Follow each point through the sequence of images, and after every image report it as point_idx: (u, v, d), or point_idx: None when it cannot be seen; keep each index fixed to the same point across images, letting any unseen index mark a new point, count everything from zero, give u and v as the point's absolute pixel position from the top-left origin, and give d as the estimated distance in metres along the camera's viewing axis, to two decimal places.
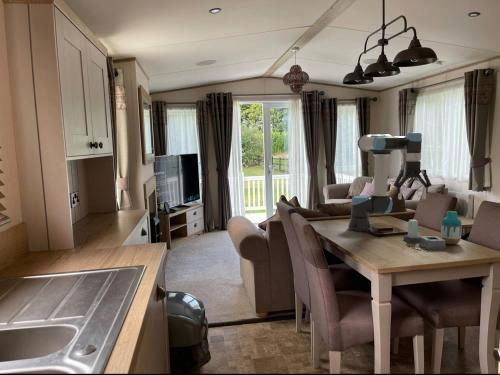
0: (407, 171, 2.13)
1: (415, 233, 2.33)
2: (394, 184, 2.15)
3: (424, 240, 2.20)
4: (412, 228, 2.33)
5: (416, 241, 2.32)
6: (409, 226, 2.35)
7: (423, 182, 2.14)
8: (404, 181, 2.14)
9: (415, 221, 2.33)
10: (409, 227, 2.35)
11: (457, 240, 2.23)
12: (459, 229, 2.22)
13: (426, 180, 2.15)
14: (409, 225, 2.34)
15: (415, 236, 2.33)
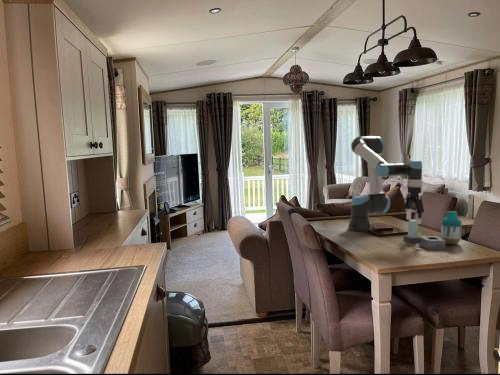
0: (410, 195, 2.36)
1: (415, 233, 2.33)
2: None
3: (424, 240, 2.20)
4: (412, 228, 2.33)
5: (416, 241, 2.32)
6: (409, 226, 2.35)
7: (416, 207, 2.27)
8: (408, 203, 2.38)
9: (415, 221, 2.33)
10: (409, 227, 2.35)
11: (457, 240, 2.23)
12: (459, 229, 2.22)
13: None
14: (409, 225, 2.34)
15: (415, 236, 2.33)
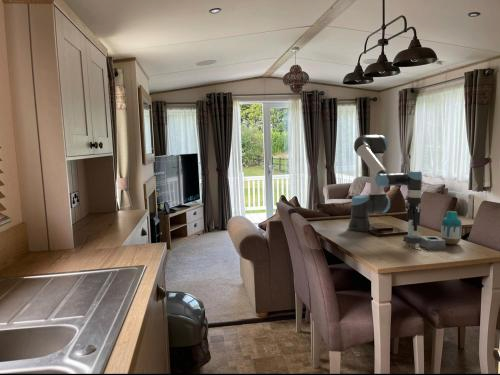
0: (409, 205, 2.37)
1: None
2: None
3: (424, 240, 2.20)
4: None
5: (416, 241, 2.32)
6: (409, 226, 2.35)
7: (413, 219, 2.32)
8: (409, 216, 2.36)
9: None
10: (409, 227, 2.35)
11: (457, 240, 2.23)
12: (459, 229, 2.22)
13: None
14: (409, 225, 2.34)
15: (415, 236, 2.33)
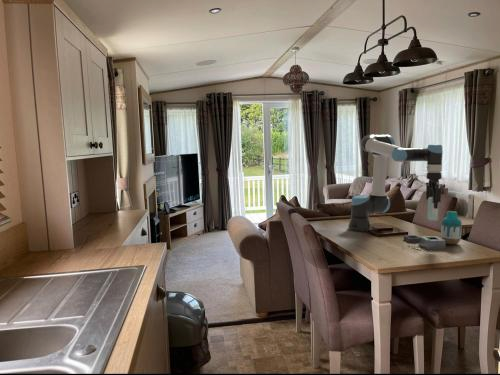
0: (428, 182, 2.22)
1: None
2: None
3: (424, 240, 2.20)
4: None
5: (416, 241, 2.32)
6: (429, 204, 2.20)
7: (433, 196, 2.17)
8: (429, 193, 2.21)
9: None
10: (429, 205, 2.20)
11: (457, 240, 2.23)
12: (459, 229, 2.22)
13: None
14: (429, 202, 2.19)
15: (435, 214, 2.18)
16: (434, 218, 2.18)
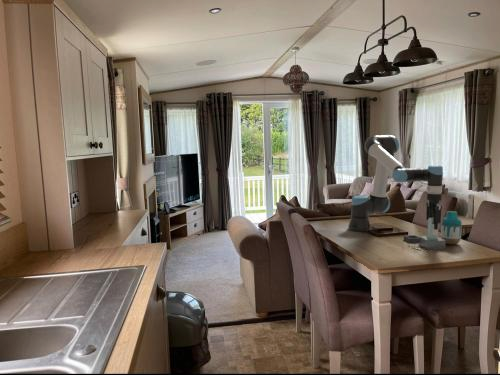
0: (429, 202, 2.22)
1: None
2: (428, 218, 2.26)
3: (424, 240, 2.20)
4: None
5: (416, 241, 2.32)
6: (429, 224, 2.21)
7: (433, 217, 2.17)
8: (429, 214, 2.22)
9: None
10: (429, 225, 2.21)
11: (457, 240, 2.23)
12: (459, 229, 2.22)
13: None
14: (429, 223, 2.20)
15: (435, 235, 2.19)
16: (434, 239, 2.19)
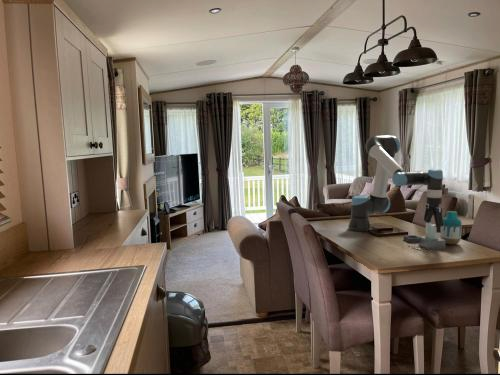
0: (428, 206, 2.23)
1: (435, 239, 2.19)
2: None
3: (424, 240, 2.20)
4: (432, 234, 2.19)
5: (416, 241, 2.32)
6: (428, 231, 2.21)
7: (435, 220, 2.16)
8: (427, 216, 2.24)
9: None
10: (428, 232, 2.21)
11: (457, 240, 2.23)
12: (459, 229, 2.22)
13: None
14: (429, 230, 2.20)
15: None
16: None
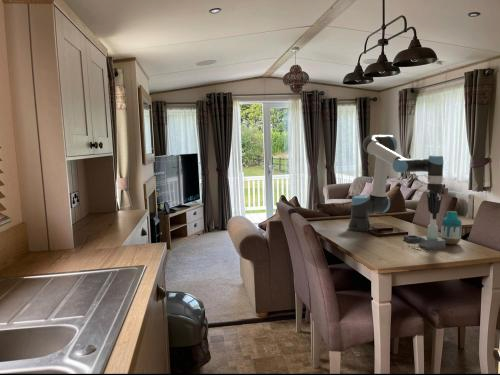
0: None
1: (435, 239, 2.19)
2: None
3: (424, 240, 2.20)
4: (432, 234, 2.19)
5: (416, 241, 2.32)
6: (428, 231, 2.21)
7: (432, 207, 2.18)
8: (430, 205, 2.20)
9: (435, 226, 2.19)
10: (428, 232, 2.21)
11: (457, 240, 2.23)
12: (459, 229, 2.22)
13: None
14: (429, 230, 2.20)
15: None
16: None
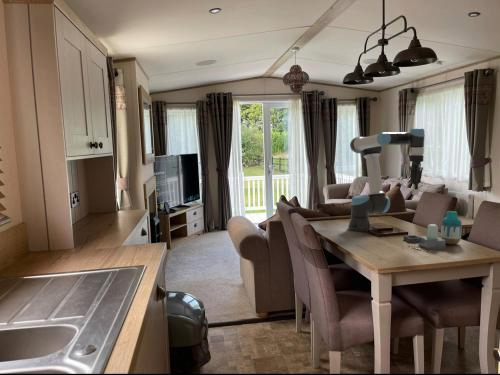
0: None
1: (435, 239, 2.19)
2: None
3: (424, 240, 2.20)
4: (432, 234, 2.19)
5: (416, 241, 2.32)
6: (428, 231, 2.21)
7: (414, 177, 2.29)
8: (412, 176, 2.31)
9: (435, 226, 2.19)
10: (428, 232, 2.21)
11: (457, 240, 2.23)
12: (459, 229, 2.22)
13: None
14: (429, 230, 2.20)
15: None
16: None
